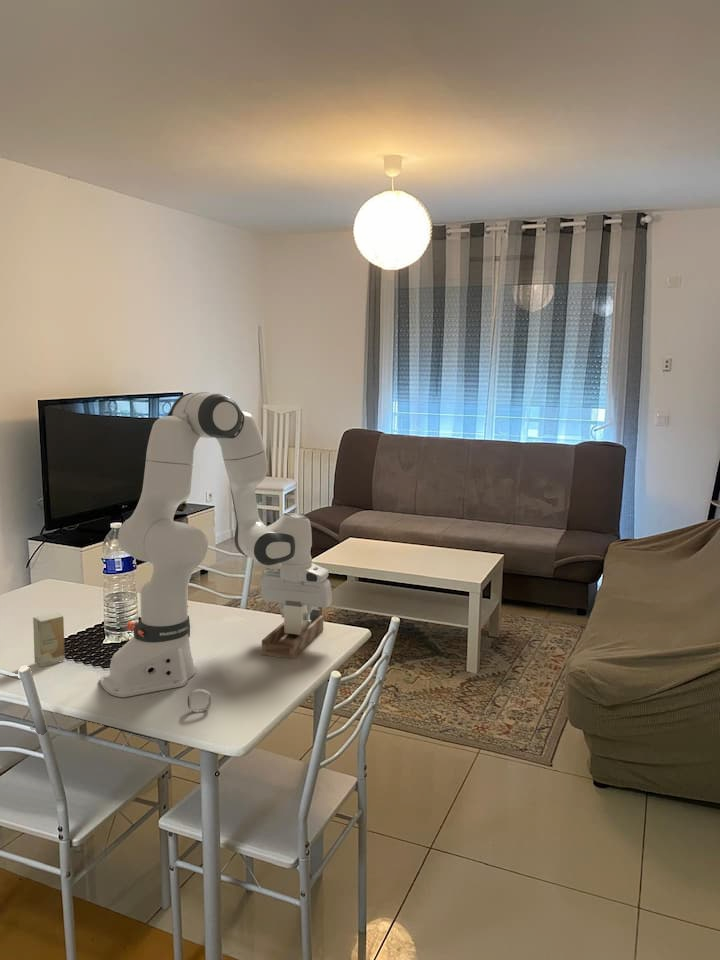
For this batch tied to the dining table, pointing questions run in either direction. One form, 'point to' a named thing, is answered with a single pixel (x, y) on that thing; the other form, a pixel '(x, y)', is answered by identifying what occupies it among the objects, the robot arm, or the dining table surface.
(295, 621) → the cream rectangular box
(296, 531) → the robot arm
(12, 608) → the dining table surface
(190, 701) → the grey ring
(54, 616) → the skincare box
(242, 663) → the dining table surface
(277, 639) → the pusher lane
